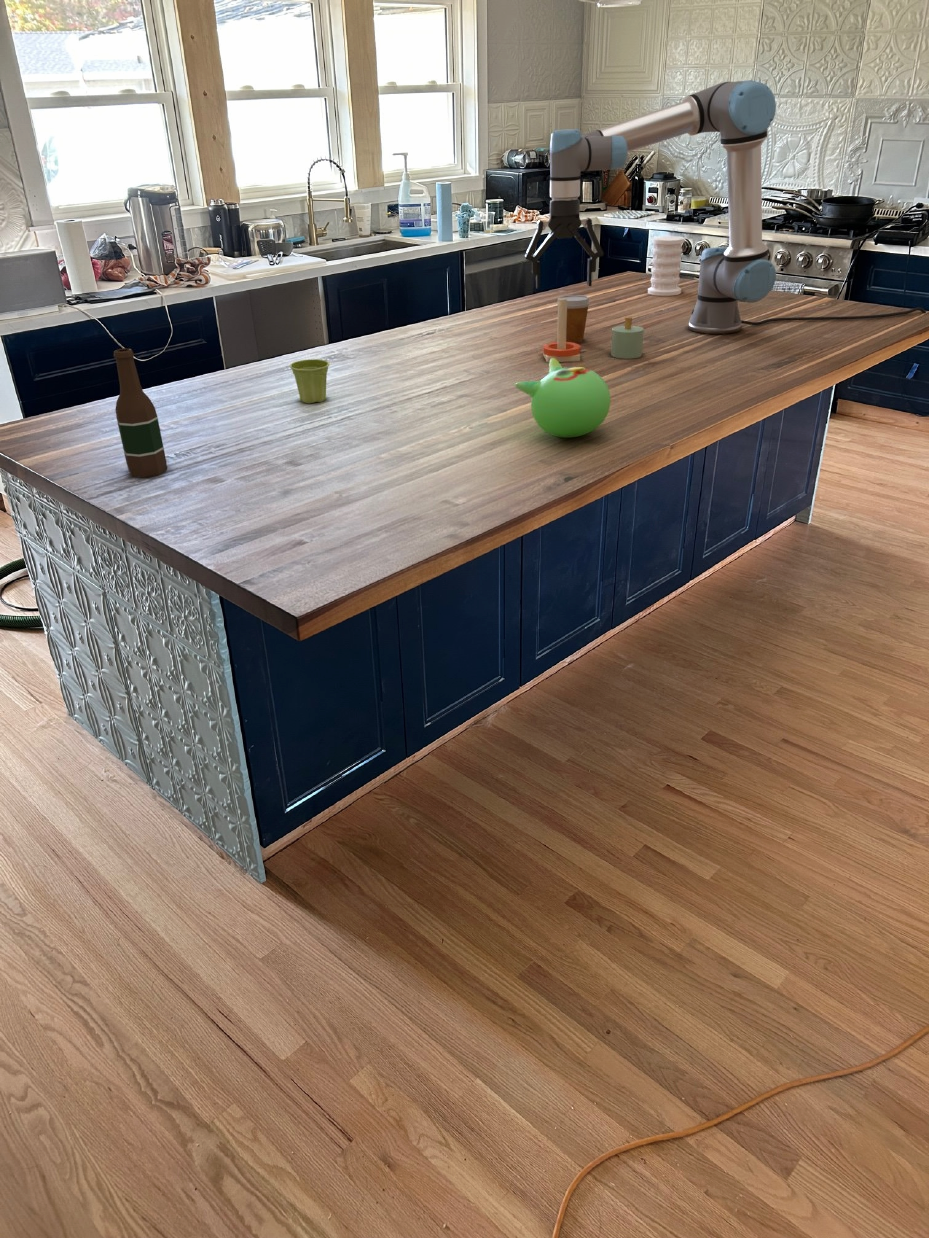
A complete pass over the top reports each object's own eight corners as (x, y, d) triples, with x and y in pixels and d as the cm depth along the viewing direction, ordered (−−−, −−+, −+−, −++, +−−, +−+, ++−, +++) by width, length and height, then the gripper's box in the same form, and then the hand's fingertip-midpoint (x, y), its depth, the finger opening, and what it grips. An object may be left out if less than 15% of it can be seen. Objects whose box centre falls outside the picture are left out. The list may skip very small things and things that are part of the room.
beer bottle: (133, 465, 188) (106, 346, 176) (171, 463, 188) (148, 344, 176) (124, 479, 181) (96, 356, 169) (164, 477, 181) (139, 354, 169)
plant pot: (339, 395, 227) (336, 360, 222) (322, 407, 219) (318, 370, 215) (305, 393, 230) (301, 358, 225) (287, 404, 222) (282, 368, 218)
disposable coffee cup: (588, 336, 273) (589, 294, 267) (589, 344, 265) (590, 301, 259) (556, 337, 274) (556, 294, 268) (555, 344, 266) (556, 301, 260)
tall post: (575, 353, 257) (576, 295, 249) (580, 361, 249) (582, 301, 241) (542, 354, 256) (543, 296, 249) (547, 362, 248) (547, 303, 241)
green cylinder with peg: (638, 350, 257) (640, 313, 252) (645, 358, 250) (647, 320, 245) (608, 351, 257) (610, 314, 252) (614, 359, 249) (616, 321, 244)
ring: (576, 347, 256) (576, 341, 255) (582, 356, 248) (582, 349, 247) (541, 348, 256) (541, 342, 255) (545, 357, 247) (545, 351, 246)
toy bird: (585, 453, 186) (587, 380, 179) (512, 440, 194) (511, 370, 187) (621, 427, 199) (625, 359, 192) (551, 417, 207) (552, 350, 200)
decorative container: (647, 295, 323) (651, 240, 314) (647, 289, 333) (651, 236, 324) (681, 296, 321) (686, 240, 312) (680, 289, 331) (684, 235, 322)
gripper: (611, 195, 236) (607, 281, 247) (514, 199, 236) (515, 286, 246) (616, 198, 230) (613, 286, 240) (517, 202, 229) (518, 291, 240)
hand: (563, 286), depth 243 cm, fingers open, 13 cm apart
